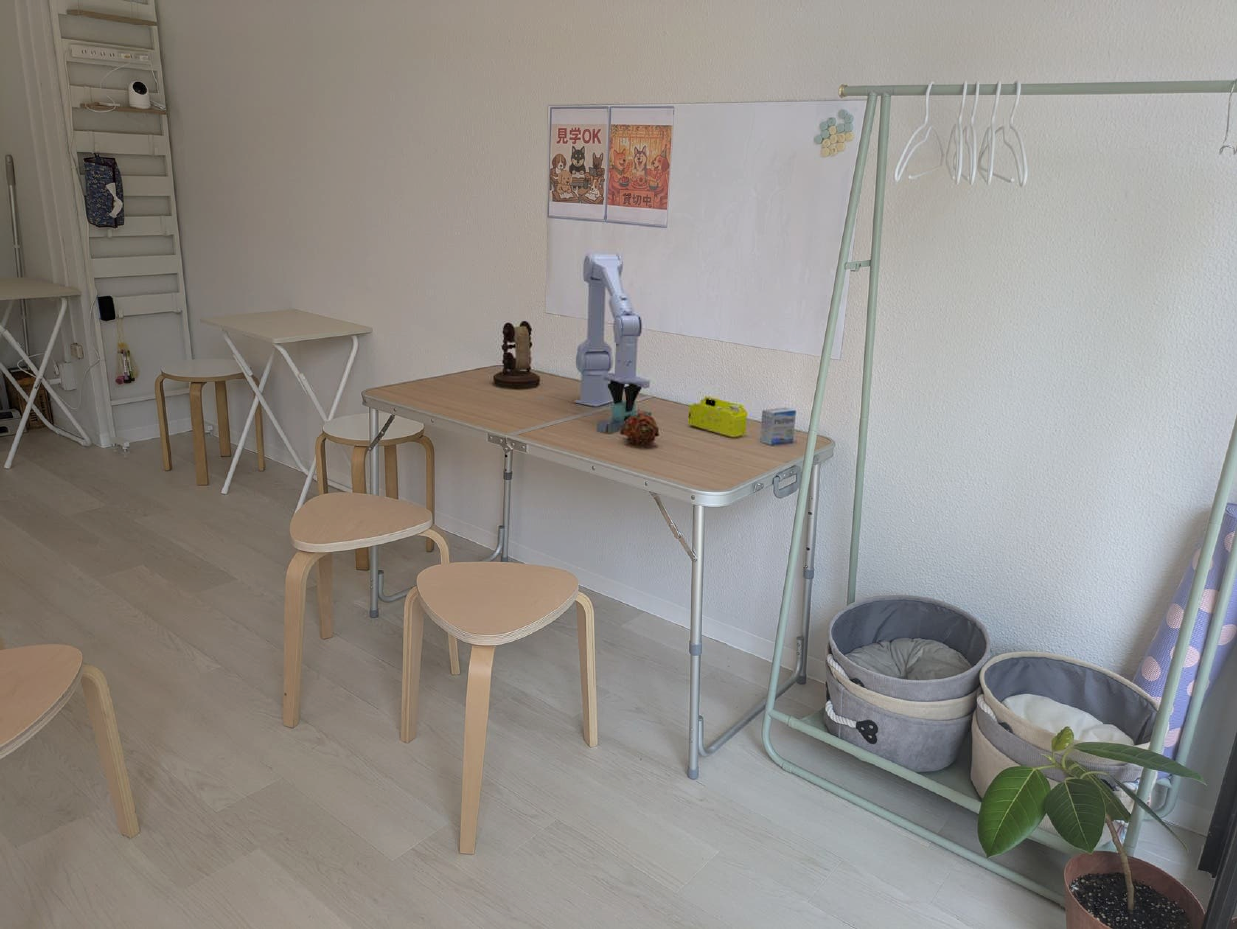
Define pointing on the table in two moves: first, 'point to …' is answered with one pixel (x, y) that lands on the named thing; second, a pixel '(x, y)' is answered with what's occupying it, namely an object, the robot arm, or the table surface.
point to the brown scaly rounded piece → (640, 429)
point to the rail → (615, 423)
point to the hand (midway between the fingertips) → (623, 410)
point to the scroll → (517, 357)
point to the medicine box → (777, 426)
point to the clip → (621, 411)
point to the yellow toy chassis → (718, 416)
